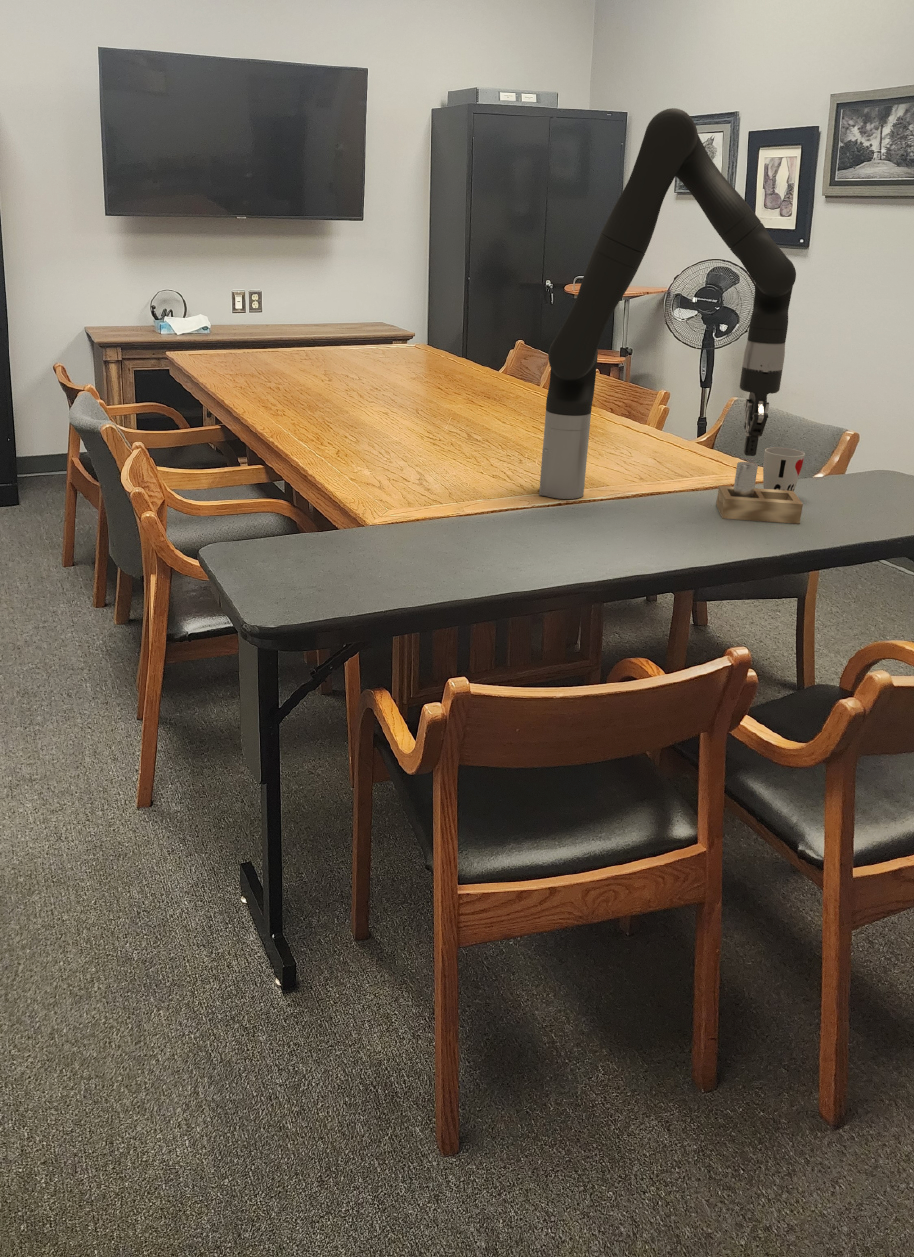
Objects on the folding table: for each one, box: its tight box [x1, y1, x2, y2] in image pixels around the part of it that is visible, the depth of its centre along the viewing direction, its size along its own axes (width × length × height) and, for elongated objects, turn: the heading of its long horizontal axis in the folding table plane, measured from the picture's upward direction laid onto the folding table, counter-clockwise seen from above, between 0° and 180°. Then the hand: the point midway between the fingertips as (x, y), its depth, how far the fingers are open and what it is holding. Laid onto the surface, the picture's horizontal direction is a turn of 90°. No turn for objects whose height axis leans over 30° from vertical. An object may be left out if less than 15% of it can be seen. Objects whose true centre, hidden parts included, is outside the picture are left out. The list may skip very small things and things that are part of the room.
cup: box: [762, 447, 806, 492], centre depth 224 cm, size 8×8×10 cm
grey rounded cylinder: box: [733, 461, 759, 498], centre depth 212 cm, size 4×4×10 cm
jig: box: [715, 485, 804, 525], centre depth 213 cm, size 15×10×4 cm, turn 85°
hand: (749, 454), depth 209 cm, fingers closed
